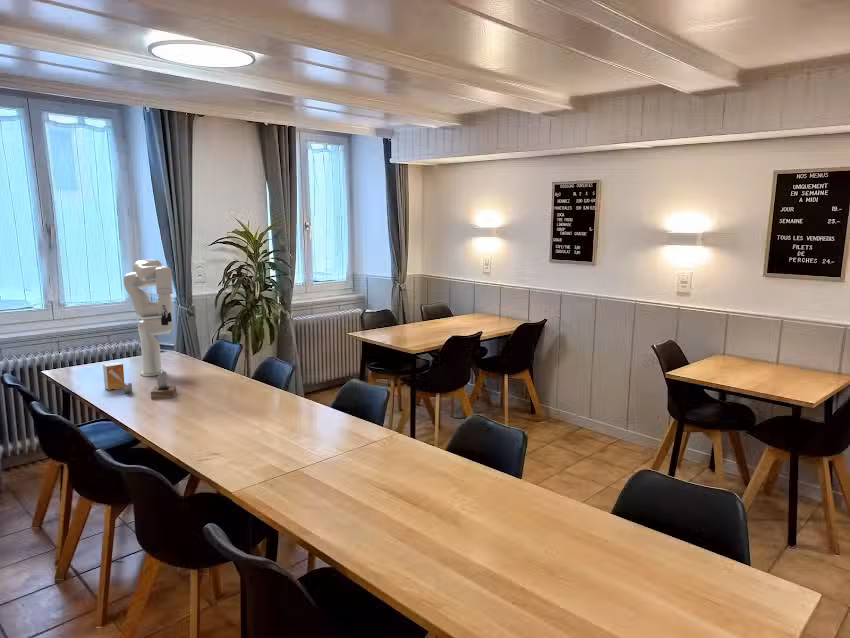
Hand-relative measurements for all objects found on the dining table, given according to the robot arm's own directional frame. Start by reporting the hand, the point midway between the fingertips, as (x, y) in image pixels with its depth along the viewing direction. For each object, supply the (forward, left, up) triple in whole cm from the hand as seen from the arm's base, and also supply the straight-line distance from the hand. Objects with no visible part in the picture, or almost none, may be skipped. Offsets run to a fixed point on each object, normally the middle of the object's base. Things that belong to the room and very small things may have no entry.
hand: (166, 323), depth 304 cm
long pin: (+19, 0, -33) cm, 38 cm away
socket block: (+19, 0, -33) cm, 38 cm away
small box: (+1, -27, -34) cm, 43 cm away
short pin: (+12, -18, -33) cm, 40 cm away
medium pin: (+12, -2, -33) cm, 35 cm away
